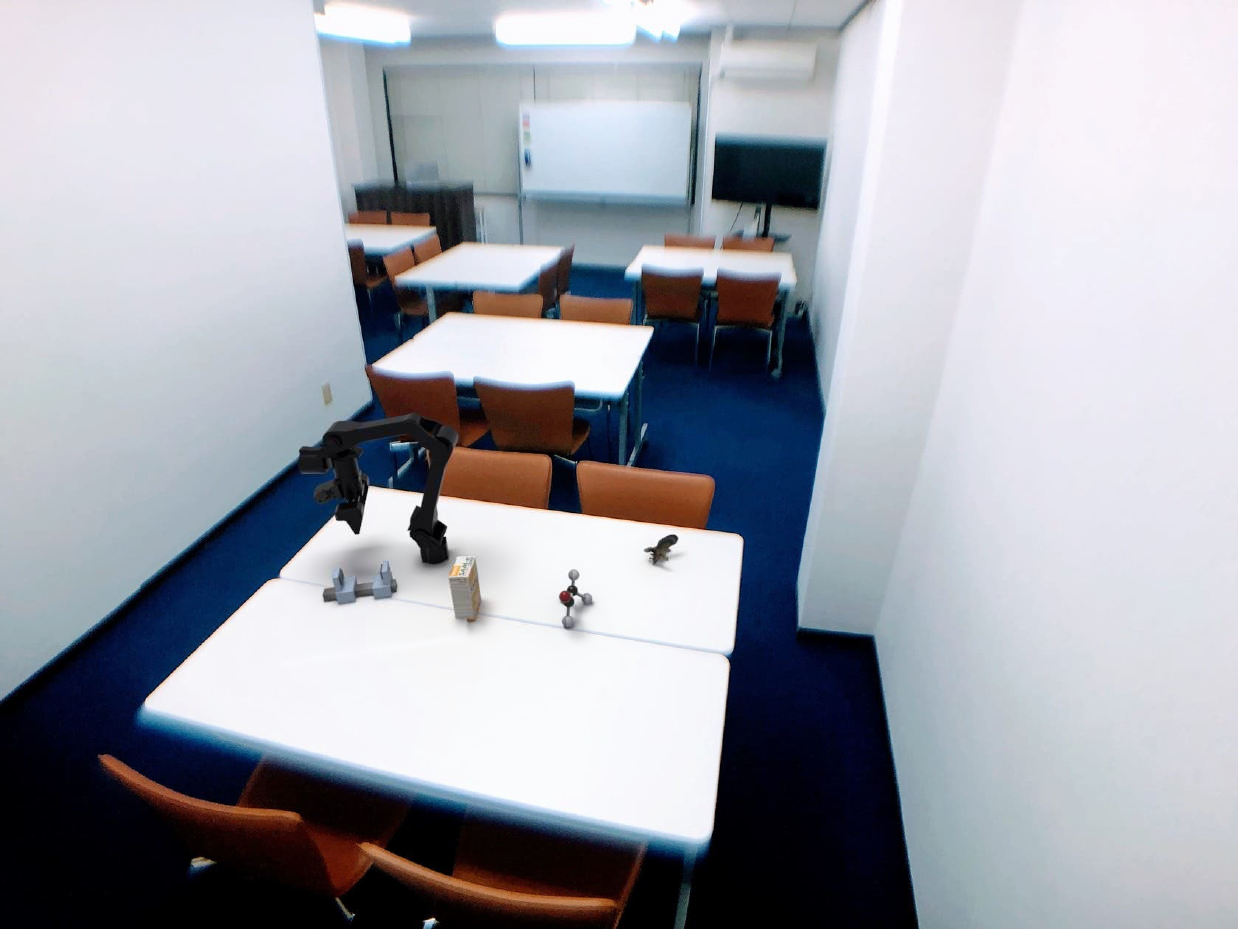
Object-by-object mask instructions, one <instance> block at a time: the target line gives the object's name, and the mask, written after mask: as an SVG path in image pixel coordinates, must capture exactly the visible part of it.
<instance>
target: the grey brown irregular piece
mask: <svg viewBox="0 0 1238 929" xmlns="http://www.w3.org/2000/svg"><path fill="white" fill-rule="evenodd" d="M678 541H679V536H678V535H676V534H673V533H672V534H668V535H666V536H665V537H662V538H661V539H659V540H658V541H657V544H656V546H653V547H652V546H650V547H649V546H648V547H645V548H644V549H643V552H645V553H650V554H649V555H651V556H652V557H649V560H652V566H654V565H655V564H657V563H658V561H659V560H661V559H665V560H667V561H669V556H668V555H667V554H666V551H672V549H671V547H672V546H675V545H676V544H678Z"/></svg>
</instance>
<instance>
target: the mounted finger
mask: <svg viewBox="0 0 1238 929" xmlns="http://www.w3.org/2000/svg"><path fill="white" fill-rule="evenodd" d="M389 562H390V561H389V560H383V561H382V563H380V568H379V569H380V570H379V572H378V573H377V572H376V573H374V576H373V581H372V582H373V587H372V590H373V594H374V595H373V598H374V599H375V600H377V599H383V598H392V596H393V594H392V593H393V592H392V593H391V580H392V579H394V578H393V572H392V571H391V567H390V563H389Z"/></svg>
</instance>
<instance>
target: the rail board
mask: <svg viewBox="0 0 1238 929" xmlns="http://www.w3.org/2000/svg"><path fill="white" fill-rule="evenodd" d="M397 583H398V582H397V579H396V578H393V579H392V580H391V593H396V592H397V590H398V584H397ZM372 587H373V581H371V582H364V583H358V584H356V586H355V591H354V594H355V598H356V599H357V598H362V597H369V596H374V594H373V590H372ZM322 591H323V592H322V598H323V602H324V603H327V602H332V601H333V602H334V601H337V598H336V594H335V593H336V590H335V587H327V588H326V587H325V588H324V589H323V590H322Z"/></svg>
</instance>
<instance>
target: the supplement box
mask: <svg viewBox="0 0 1238 929" xmlns="http://www.w3.org/2000/svg"><path fill="white" fill-rule="evenodd" d="M476 558H477V557H476V556H456V557H455V561H454V563H453V565H452V568H451V570H450V572H449V573H450V574H449V575H448V581H449V582H448V584H449V589H450V595H451V600H452V605H453V611H454V618H455V619H466V621H467V622H475V621H476V617H477V614H478V613H477V612H478V609H479V606H480V604H481V601H482V596H481V590H480V588H481V587H480V580H479V575H478V574H479V573H478V565H477V559H476Z"/></svg>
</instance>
